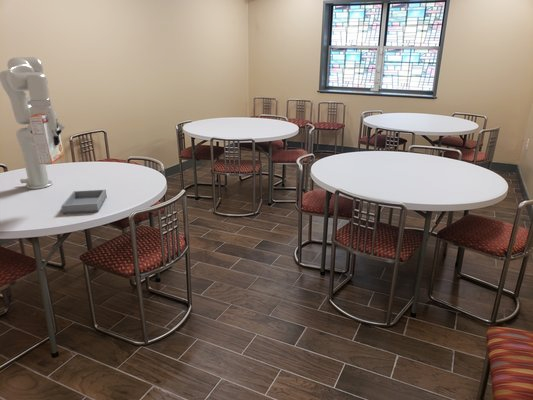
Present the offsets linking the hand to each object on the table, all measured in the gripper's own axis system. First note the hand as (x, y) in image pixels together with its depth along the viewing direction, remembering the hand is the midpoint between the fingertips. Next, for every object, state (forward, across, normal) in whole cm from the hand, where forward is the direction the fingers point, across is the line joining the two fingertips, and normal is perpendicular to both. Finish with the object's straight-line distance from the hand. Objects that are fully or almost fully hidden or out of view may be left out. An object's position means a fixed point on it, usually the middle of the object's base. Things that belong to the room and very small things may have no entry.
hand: (48, 144), depth 181 cm
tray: (+30, +11, 0) cm, 32 cm away
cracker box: (+7, 0, 0) cm, 7 cm away
